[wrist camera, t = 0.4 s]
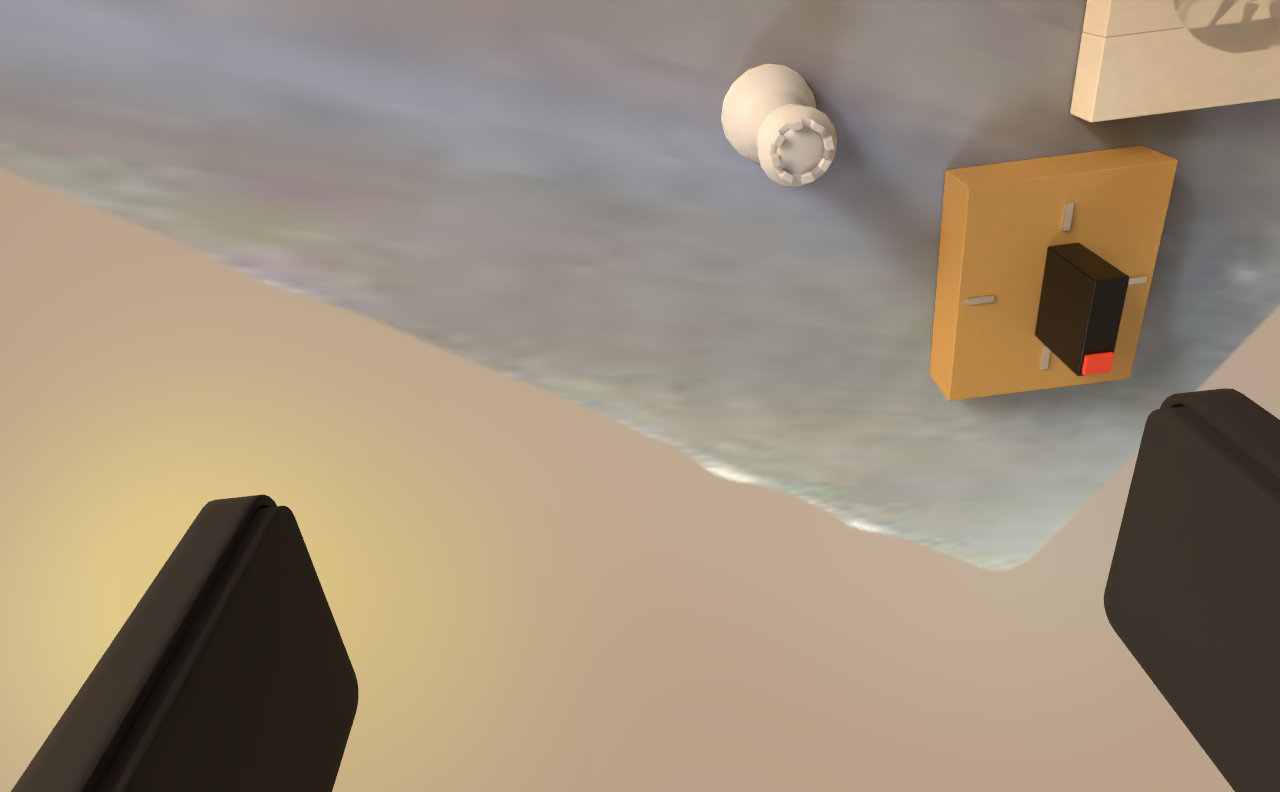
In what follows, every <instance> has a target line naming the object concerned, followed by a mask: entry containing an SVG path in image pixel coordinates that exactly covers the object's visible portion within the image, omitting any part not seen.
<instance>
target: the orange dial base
mask: <svg viewBox="0 0 1280 792" xmlns="http://www.w3.org/2000/svg"><path fill="white" fill-rule="evenodd" d="M1177 164H1178V160H1176V159H1174V158H1171V157H1169V156H1167V155H1164V154H1162V153H1160V152H1157V151H1155V150H1152V149H1150V148H1148V147H1145V146H1143V145H1139V146H1131V147H1123V148H1115V149H1107V150H1100V151H1092V152H1084V153H1076V154H1068V155H1060V156H1053V157H1045V158H1037V159H1029V160H1021V161H1013V162H1005V163H998V164H990V165H982V166H974V167H966V168H958V169H951V170H946V171H945V184H944V196H943V209H942V222H941V235H940V248H939V261H938V274H937V286H936V299H935V312H934V325H933V338H932V351H931V364H930V376H931V377H932V379H933V380H934V381H935V383H936V384H937V386H938V387H939V388H940V390H941V391H942V392H943V394H944V395H945V396H946V398H947V399H948V401H953V400H961V399H969V398H977V397H985V396H993V395H1001V394H1009V393H1018V392H1026V391H1034V390H1042V389H1050V388H1058V387H1066V386H1074V385H1082V384H1090V383H1098V382H1106V381H1114V380H1122V379H1129V378H1130V376H1131V372H1132V367H1133V363H1134V358H1135V354H1136V349H1137V345H1138V340H1139V336H1140V331H1141V327H1142V322H1143V318H1144V313H1145V309H1146V304H1147V300H1148V295H1149V291H1150V286H1151V282H1152V277H1153V273H1154V268H1155V264H1156V259H1157V255H1158V250H1159V246H1160V241H1161V236H1162V232H1163V227H1164V223H1165V218H1166V214H1167V209H1168V205H1169V200H1170V196H1171V191H1172V187H1173V182H1174V178H1175V173H1176V169H1177ZM1071 243H1080V244H1082V245H1083V246H1085V247H1086V248H1088V249H1089V250H1091V251H1092V252H1094V253H1095V254H1097V255H1098V256H1100V257H1101V258H1103V259H1104V260H1106V261H1107V262H1109V263H1110V264H1112V265H1113V266H1115V267H1116V268H1117V269H1119V270H1120V271H1122V272H1123V273H1125V274H1126V275H1128V276H1129V283H1128V288H1127V293H1126V298H1125V303H1124V307H1123V312H1122V317H1121V322H1120V327H1119V332H1118V336H1117V341H1116V346H1115V351H1114V354H1115V355H1114V360H1113V364H1112V369H1111V372H1109V373H1102V374H1094V375H1086V376H1077V375H1076V374H1075V373H1074V372H1073V371H1071V370H1070V369H1069V368H1068V367H1067V366H1066V365H1065V364H1064V363H1063V362H1062V361H1061V360H1060V359H1059V358H1058V357H1057V356H1056V355H1055V354H1054V353H1053V352H1051V351H1050V350H1049V349H1048V348H1047V347H1046V346H1045V345H1044V344H1043V343H1042V342H1041V341H1040V340H1039V339H1038V338H1037V337H1036V336H1035V329H1036V322H1037V315H1038V309H1039V302H1040V295H1041V288H1042V282H1043V275H1044V268H1045V262H1046V255H1047V248H1048V247H1049V246H1055V245H1063V244H1071Z"/></svg>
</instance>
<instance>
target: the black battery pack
mask: <svg viewBox="0 0 1280 792" xmlns="http://www.w3.org/2000/svg"><path fill="white" fill-rule="evenodd" d="M1128 283H1129V276H1128V275H1126V274H1125V273H1123V272H1122V271H1120V270H1119V269H1117V268H1116V267H1115V266H1113V265H1112V264H1110V263H1109V262H1107V261H1106V260H1104V259H1103V258H1101V257H1100V256H1098V255H1097V254H1095V253H1094V252H1092V251H1091V250H1089V249H1088V248H1086V247H1085V246H1083V245H1082V244H1080V243H1071V244H1063V245H1055V246H1049V247H1048V248H1047V255H1046V262H1045V268H1044V275H1043V282H1042V288H1041V295H1040V302H1039V309H1038V315H1037V322H1036V329H1035V336H1036V337H1037V338H1038V339H1039V340H1040V341H1041V342H1042V343H1043V344H1044V345H1045V346H1046V347H1047V348H1048V349H1049V350H1050V351H1051V352H1053V353H1054V354H1055V355H1056V356H1057V357H1058V358H1059V359H1060V360H1061V361H1062V362H1063V363H1064V364H1065V365H1066V366H1067V367H1068V368H1069V369H1070V370H1071V371H1073V372H1074V373H1075V374H1076V375H1077V376H1086V375H1094V374H1102V373H1109V372H1111V369H1112V364H1113V360H1114V355H1115V354H1114V351H1115V346H1116V341H1117V336H1118V332H1119V327H1120V322H1121V317H1122V312H1123V307H1124V303H1125V298H1126V293H1127V288H1128Z"/></svg>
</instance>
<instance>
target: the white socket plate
mask: <svg viewBox="0 0 1280 792" xmlns="http://www.w3.org/2000/svg"><path fill="white" fill-rule="evenodd" d="M1272 99H1280V0H1087V4H1086V11H1085V18H1084V24H1083V33H1082V38H1081V44H1080V51H1079V58H1078V64H1077V71H1076V77H1075V84H1074V91H1073V97H1072V104H1071V111H1070V114H1072V115H1074V116H1077V117H1079V118H1081V119H1084V120H1086V121H1089V122H1091V123H1092V122H1100V121H1108V120H1115V119H1123V118H1131V117H1139V116H1147V115H1155V114H1162V113H1170V112H1178V111H1186V110H1194V109H1201V108H1209V107H1217V106H1225V105H1233V104H1241V103H1248V102H1256V101H1264V100H1272Z"/></svg>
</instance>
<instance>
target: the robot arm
mask: <svg viewBox="0 0 1280 792" xmlns="http://www.w3.org/2000/svg"><path fill="white" fill-rule="evenodd" d="M1104 607H1105V611H1106V615H1107V617H1108V620H1109V622H1110V624H1111V626H1112V627H1113V629H1114V630H1115V632H1116V633H1117V635H1118V636H1119V637H1120V638H1121V640H1122V641H1123V643H1124V644H1125V645H1126V647H1127V648H1128V649H1129V651H1130V652H1131V653H1132V655H1133V656H1134V657H1135V658H1136V660H1137V661H1138V662H1139V664H1140V665H1141V667H1142V668H1143V669H1144V671H1145V672H1146V673H1147V675H1148V676H1149V677H1150V679H1151V680H1152V681H1153V683H1154V684H1155V685H1156V687H1157V688H1158V689H1159V691H1160V692H1161V693H1162V695H1163V696H1164V697H1165V699H1166V700H1167V701H1168V703H1169V704H1170V705H1171V707H1172V708H1173V709H1174V711H1175V712H1176V713H1177V715H1178V716H1179V717H1180V719H1181V720H1182V721H1183V723H1184V724H1185V725H1186V727H1187V728H1188V729H1189V731H1190V732H1191V733H1192V735H1193V736H1194V737H1195V739H1196V740H1197V741H1198V743H1199V744H1200V745H1201V747H1202V748H1203V749H1204V751H1205V752H1206V754H1207V755H1208V756H1209V758H1210V759H1211V760H1212V761H1213V763H1214V764H1215V765H1216V767H1217V768H1218V770H1219V771H1220V772H1221V773H1222V775H1223V776H1224V778H1225V779H1226V780H1227V782H1228V783H1229V784H1230V785H1231V787H1232V788H1233V790H1234V791H1235V792H1280V420H1279V419H1277V418H1276V417H1275V416H1273V415H1272V414H1270V413H1269V412H1268V411H1266V410H1265V409H1263V408H1262V407H1260V406H1259V405H1258V404H1256V403H1255V402H1253V401H1252V400H1251V399H1249V398H1248V397H1246V396H1245V395H1244V394H1242V393H1240V392H1238V391H1236V390H1234V389H1216V390H1207V391H1197V392H1188V393H1179V394H1174V395H1171V396H1169V397H1167V398H1166V400H1165V401H1164V402H1163V403H1162V405H1161V407H1160V409H1157V410H1155V411H1153V412H1152V413H1151V414H1150V415H1149V416H1148V419H1147V421H1146V424H1145V428H1144V432H1143V436H1142V440H1141V444H1140V449H1139V453H1138V457H1137V461H1136V465H1135V469H1134V473H1133V478H1132V482H1131V486H1130V490H1129V494H1128V498H1127V502H1126V506H1125V510H1124V515H1123V519H1122V523H1121V527H1120V531H1119V536H1118V539H1117V543H1116V548H1115V552H1114V556H1113V560H1112V564H1111V568H1110V572H1109V576H1108V580H1107V585H1106V589H1105V594H1104ZM357 704H358V683H357V679H356V675H355V672H354V670H353V667H352V665H351V662H350V659H349V657H348V654H347V651H346V649H345V646H344V644H343V641H342V639H341V636H340V633H339V631H338V628H337V625H336V623H335V620H334V618H333V615H332V612H331V610H330V607H329V605H328V602H327V600H326V597H325V594H324V592H323V589H322V586H321V584H320V581H319V579H318V576H317V574H316V571H315V568H314V566H313V563H312V561H311V558H310V555H309V553H308V550H307V548H306V545H305V543H304V540H303V537H302V535H301V532H300V529H299V527H298V524H297V522H296V519H295V517H294V515H293V513H292V511H291V510H290V509H289V508H288V507H286V506H278V507H277V505H276V503H275V502H274V501H273V500H272V499H271V498H270V497H269V496H266V495H256V496H247V497H238V498H229V499H220V500H213V501H210V502H208V503H207V504H206V505H205V506H204V507H203V508H202V510H201V511H200V513H199V514H198V516H197V517H196V519H195V520H194V522H193V523H192V525H191V526H190V527H189V529H188V530H187V532H186V533H185V535H184V536H183V538H182V540H181V541H180V542H179V544H178V545H177V547H176V548H175V550H174V551H173V553H172V554H171V556H170V557H169V559H168V560H167V562H166V563H165V564H164V566H163V567H162V569H161V570H160V572H159V573H158V575H157V576H156V578H155V579H154V581H153V582H152V584H151V585H150V587H149V588H148V590H147V591H146V593H145V594H144V596H143V597H142V599H141V600H140V602H139V603H138V604H137V606H136V608H135V609H134V610H133V612H132V613H131V615H130V616H129V618H128V619H127V621H126V622H125V624H124V625H123V627H122V628H121V630H120V631H119V633H118V634H117V636H116V637H115V638H114V640H113V641H112V643H111V644H110V646H109V648H108V649H107V651H106V652H105V653H104V655H103V656H102V658H101V659H100V661H99V662H98V664H97V665H96V667H95V668H94V670H93V671H92V673H91V674H90V676H89V677H88V678H87V680H86V681H85V683H84V684H83V686H82V687H81V689H80V690H79V692H78V694H77V695H76V696H75V698H74V699H73V701H72V702H71V704H70V705H69V707H68V708H67V710H66V711H65V712H64V714H63V715H62V717H61V718H60V720H59V721H58V723H57V724H56V726H55V727H54V729H53V730H52V732H51V733H50V735H49V736H48V738H47V739H46V741H45V742H44V744H43V745H42V747H41V748H40V750H39V751H38V752H37V754H36V755H35V757H34V758H33V760H32V761H31V763H30V764H29V766H28V767H27V769H26V770H25V772H24V773H23V775H22V776H21V778H20V779H19V781H18V782H17V784H16V785H15V786H14V788H13V789H12V791H11V792H332V790H333V787H334V783H335V780H336V776H337V773H338V770H339V767H340V763H341V760H342V757H343V753H344V750H345V747H346V743H347V740H348V737H349V733H350V730H351V727H352V724H353V720H354V717H355V714H356V709H357Z"/></svg>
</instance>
